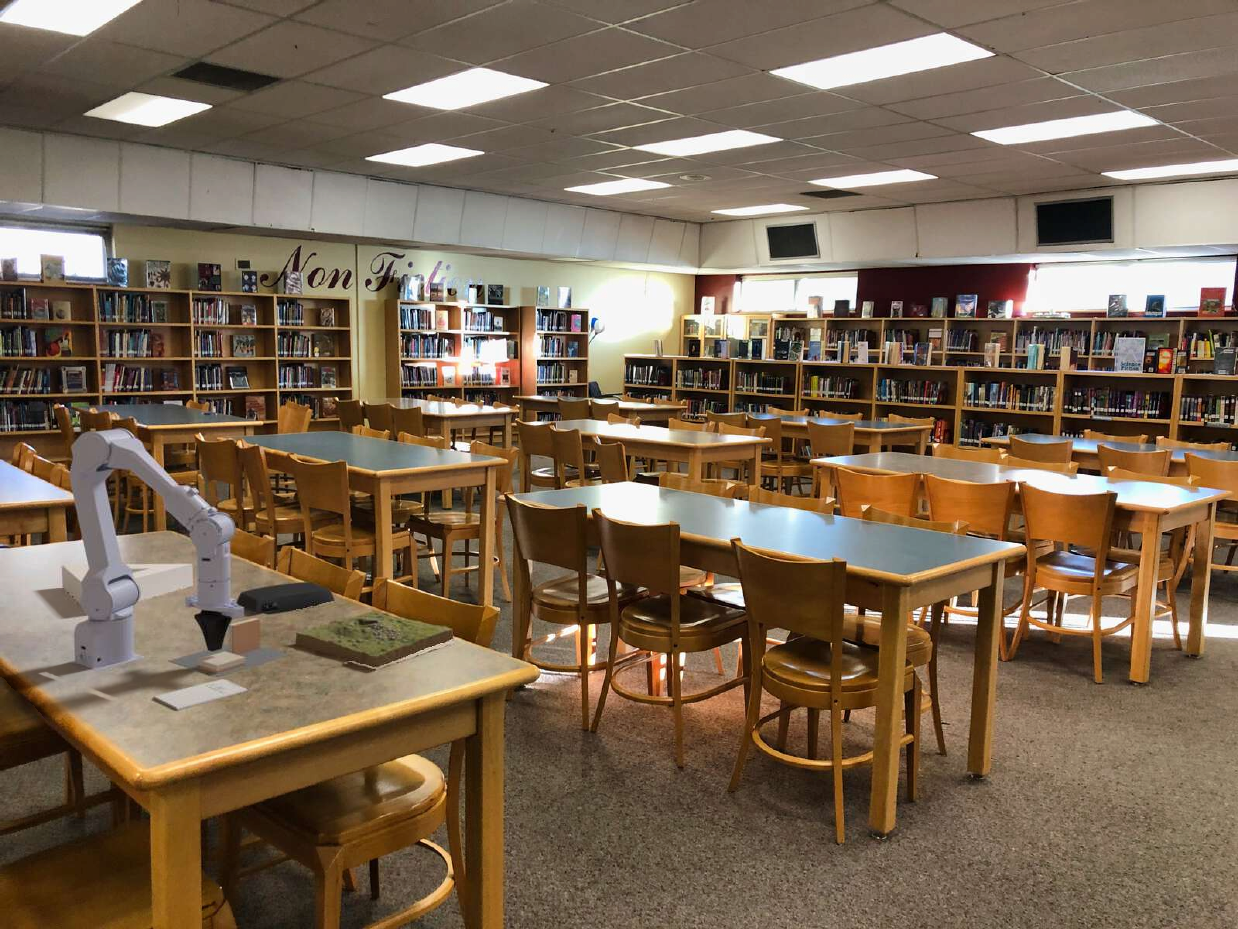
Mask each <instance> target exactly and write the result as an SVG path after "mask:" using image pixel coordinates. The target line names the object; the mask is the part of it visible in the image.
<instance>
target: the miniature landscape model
mask: <svg viewBox="0 0 1238 929" xmlns="http://www.w3.org/2000/svg"><path fill="white" fill-rule="evenodd" d="M295 634H296V635H295V643H294V644H295V645H296V646H297V645H298V646H301V647H304V648H308V649H312V650H315V651H319V652H322V653H325V654H328V655H332V656H335V657H339V658H341V659H345V660H348V661H355V662H357V663H360V664H366V665H369V666H372V667H379V666H381V665H384V664H388V663H390V662H392V661H396V660H398V659H401V658H403V657H406V656H408V655H410V654H414V653H416V652H418V651H420V650H424V649H425V648H428V647H432V646H435V645H437V644H440V643H445V642H447V641H449V640H451V639H453V640H454V632H453V629H452V628H451V627H448V626H442V625H436V624H431V623H430V624H429V623H427V622H422V621H419V620H413V619H408V618H403V617H398V616H393V615H390V614H389V613H387V612H384V613H383V612H382V611H377V610H376V611H369V612H366V613H362V614H358V615H356V616H352V617H349V618H345V619H339V620H337V619H335V620H332V621H330V622H328V623H325V624H320V625H319V626H318V625H317V626H315V627H312V628H309V629H305V630H302V631H296V632H295Z"/></svg>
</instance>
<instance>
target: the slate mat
mask: <svg viewBox="0 0 1238 929" xmlns="http://www.w3.org/2000/svg"><path fill="white" fill-rule="evenodd" d="M224 651H226V652H229V643H228V644H225V645H224V644H223V645H222V649H220V650H216V651H209V650H208V649H205V650H202V651H199V652H195V653H191V654H188V655H185V656H181V657H178V658H174V659H169V660H168V662H170V663H173V664H175V665H179V666H181V667H185V668H189V669H191V670H194V671H198V672H201V673H204V674H207V675H209V676H210V675H211V676H214V677H217V678H220V677H223V676H226V675H230V674H233V673H235V672H240V671H243V670H247V669H249V668H253V667H255V666H258V665H262V664H265V663H268V662H272V661H274V660H278V659H282V658H284V657H285V658H286V657H288V656H291V654H289V653H285V652H282V651H280V650H279V651H278V650H276V649H271V648H268V647H264V646H261V645H260V649H257V650H253V651H250V652H246V653H243V654H240V655H239V656H243V657H245V665H244V666H240V667H237V668H234V669H230V670H227V671H224V672H221V673H214V672H211V671H208V670H204V669H201V668H198V667H197V659H199V658H203V657H207V656H210V655H214V654H217V653H221V652H224Z"/></svg>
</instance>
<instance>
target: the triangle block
mask: <svg viewBox="0 0 1238 929" xmlns="http://www.w3.org/2000/svg"><path fill="white" fill-rule="evenodd" d="M124 564H125V563H124ZM125 565H127V566H128V567H129V568H131V570H132V574H133V577H134V579H135V580H136V581H137V583H138V584H139V586H140V589H141V596H140V599H139V602H142V601H145V600H144V599H146V600H149V599H152V597H153V598H155V597H154V596H156V597H160V596H163V595H166V594H165V593H167V594H169V593H168V592H170V593H172V592H173V591H174V592H177V591H179V590H178V589H181V590H184V589H187V587H188V588H190V586H191V587H193V586H194V581H193V578H194V577H193V574H194V573H193V569H194V568H193V563H151V564H149V563H148V564H147V563H139V564H138V563H134V564H133V563H132V564H128V563H127V564H125ZM88 570H89V566H88V564H61V580H62V582H61V583H62V584H61V585H62V587H63V588H64V589H65V590H66V591H67V592H69V593H68V595H69V596H70V597H72V596H73V597H74V598H73V597H72V598H73V599H74V600H75V599H76V600H77V601H78V602H79V603H80V604H81V596H82V584H81V582H82V580H83V578H84V577H85V575H86V573H87V572H88ZM63 588H62V589H63ZM64 589H63V590H64ZM65 590H64V591H65ZM176 590H177V591H176ZM66 591H65V592H66ZM76 600H75V601H76ZM141 600H142V601H141ZM77 601H76V602H77ZM78 602H77V603H78ZM79 603H78V604H79ZM80 604H79V605H80Z"/></svg>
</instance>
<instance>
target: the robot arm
mask: <svg viewBox="0 0 1238 929" xmlns="http://www.w3.org/2000/svg"><path fill="white" fill-rule="evenodd" d="M70 449H71V450H70V451H71V453H72V461H71V465H70V470H69V473H68V474H69V482H70V486H71V491H72V496H73V501H74V506H75V510H76V514H77V519H78V520H77V521H78V523H79V524H78V525H79V528H80V534H81V537H82V538H81V539H82V542H83V547H84V552H85V556H86V559H87V560H86V561H87V565H88V566H89V570H88V572H87V573H86V575H85V577H84V578H83V580H82V582H81V584H82V596H81V605H80V607H81V609H82V611H83V612H84V614H85V615H86V616H87V619H86V620H83V621H81V622H78V623H77V624H76V625H75V628H74V630H73V631H74V633H73V637H74V638H73V639H74V641H73V642H74V660H73V661H72V663H74V664H76V665H80V666H83V667H85V668H86V667H87V668H89V669H92V670H94V671H95V670H96V671H97V670H102V669H106V668H109V667H113V666H116V665H120V664H124V663H128V662H133V661H136V660H139V659H143V658H145V656H144V655H141V654H137V653H135V635H134V634H135V630H134V629H135V628H134V627H135V626H134V611H135V605H136V604H137V603H138V601H139V599H140V596H141V589H140V586H139V584H138V583H137V581H136V580H135V579H134V577H133V574H132V570H131V568H129V567H128V566H127V565H125V563H124V562H123V561H122V556H121V553H120V548H119V543H118V538H117V534H116V528H115V524H114V519H113V515H112V511H111V510H112V509H111V505H110V500H109V496H108V491H107V486H106V480H107V479H108V478H109V476H111V474H112V473H113V472H114V471H115V469H120V470H127V471H131V472H132V473H133V474H134V475H136V476H137V478H139V479H141V480H142V481H143V483H145V484H147V486H149V487H150V488H151V489H153V491H155V492H156V493H157V494H158V495H160V496H161V497H162V499H163V507H164V509H165V510H167V512H168V513H169V514H170V515H171V516H172V517H174V518H175V519H176V520H177V521H178V522H179V523H180V524H181V525H182V526H183V527H185V529H187V531H188V532H189V538H190V541H191V543H192V544H193V545H194V546H195V552H196V576H197V577H196V580H197V581H196V582H197V583H196V587H197V588H196V589H197V590H196V591H197V593H196V595H195V594H193V595H189V596H186V597H185V607H186V608H195V609H198V610H200V613H196V614H194V615H193V616H194V617H193V618H194V620H195V621H196V623H197V624H198V626H199V628H200V630H201V633H202V635H203V638H204V642H205V646H206V648H207V649H206V650H209V651H216V650H220V649H222V646H224V641H225V637H226V633H227V631H228V630H229V628H228V626H229V624H231V623H232V621H233V620H239V619H242V618H244V617H245V610H244V607H241V606H239V605H237V604H236V603H237V602H236V598H235V597H231V596H232V594H231V593H232V592H231V591H232V590H231V584H232V583H231V579H232V578H231V540H232V539H233V538H234V537H235V534H236V530H237V528H236V524H235V522H234V520H233V518H231V516H230V514H228V513H225V512H222V511H221V512H218V509H217V508H216V507H215V506H211V505H210V504H209V503H208V502H207V501H205V499H204V498H202V497H201V496H200V495H199V493H200V491H199V490H198V489H197V488H196V487H190V485H180V484H178V483H177V482H176V481H175V480H174V478H173V477H171V476H170V474H169V473H168V472H167V471H166V470H165V469H164V468H163V467H162V466H161V465H160V464H159V463H158V462H157V461H156V460H155V458H153V456H152V455H151V454H150V453H149V452H148V451H147V450H146V448H145V446H144V444H143V442H142V441H141V440H140V439H138V438H137V437H135V435H134V434H133V433H132V432H131V431H129V430H128V429H125V428H119V427H118V428H114V429H108V430H100V431H96V430H95V431H94V430H93V431H90V430H89V431H86V432H83V433H82V434H80V436H79V437H78V438H77V439H76V440H75V441H74V442H73V443H72V445H71V447H70ZM139 602H140V601H139Z"/></svg>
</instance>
